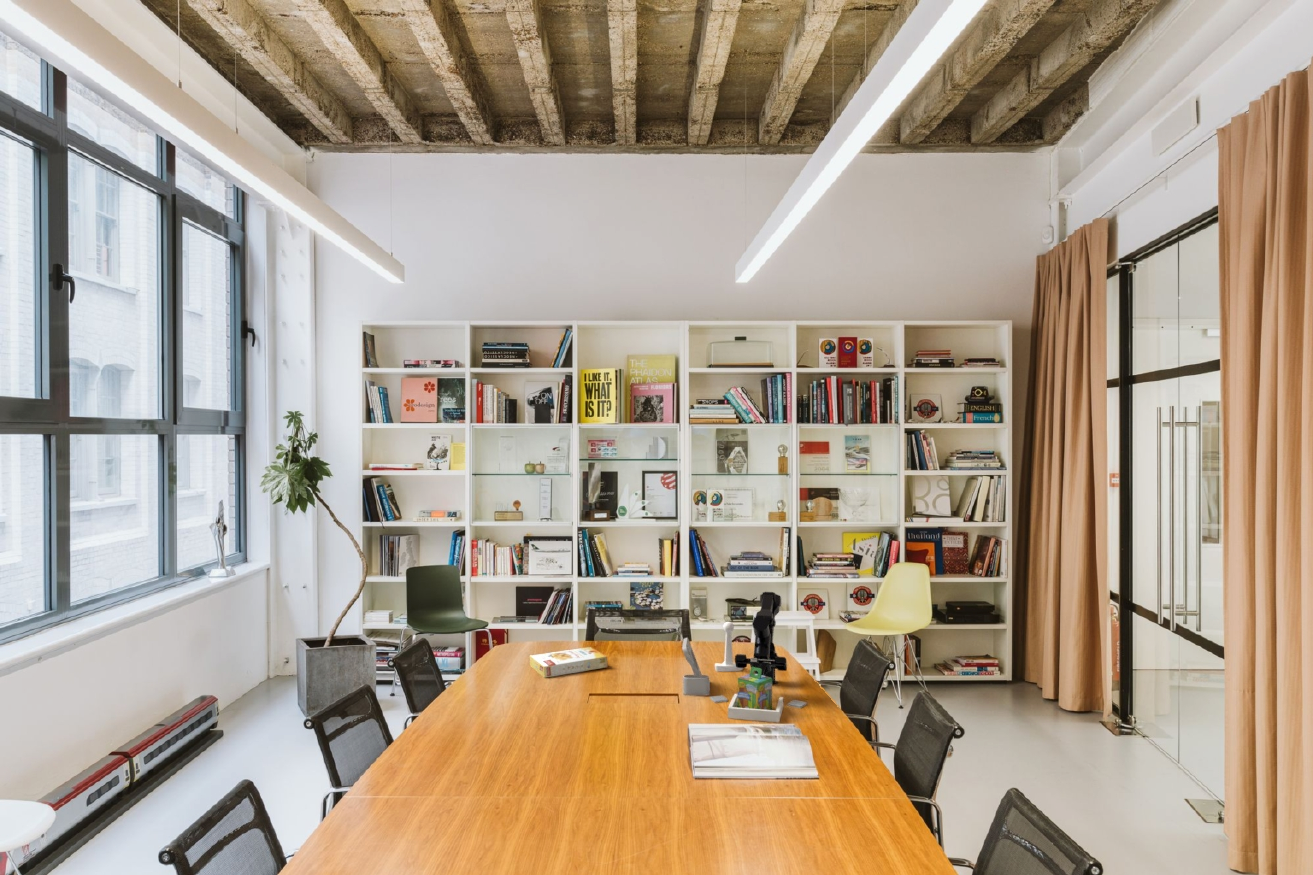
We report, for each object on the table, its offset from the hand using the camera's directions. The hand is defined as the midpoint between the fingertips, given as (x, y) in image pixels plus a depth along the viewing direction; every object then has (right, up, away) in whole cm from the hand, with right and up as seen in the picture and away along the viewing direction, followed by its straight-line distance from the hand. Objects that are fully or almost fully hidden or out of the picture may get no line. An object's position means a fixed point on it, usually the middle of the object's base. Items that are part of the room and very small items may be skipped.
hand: (759, 683), depth 277 cm
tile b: (-14, -8, +5) cm, 17 cm away
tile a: (+14, -8, -1) cm, 16 cm away
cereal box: (-74, -9, +47) cm, 89 cm away
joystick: (-7, -8, +43) cm, 44 cm away
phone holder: (-22, -8, +18) cm, 29 cm away
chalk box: (-2, -7, -7) cm, 10 cm away
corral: (-2, -7, -8) cm, 11 cm away
